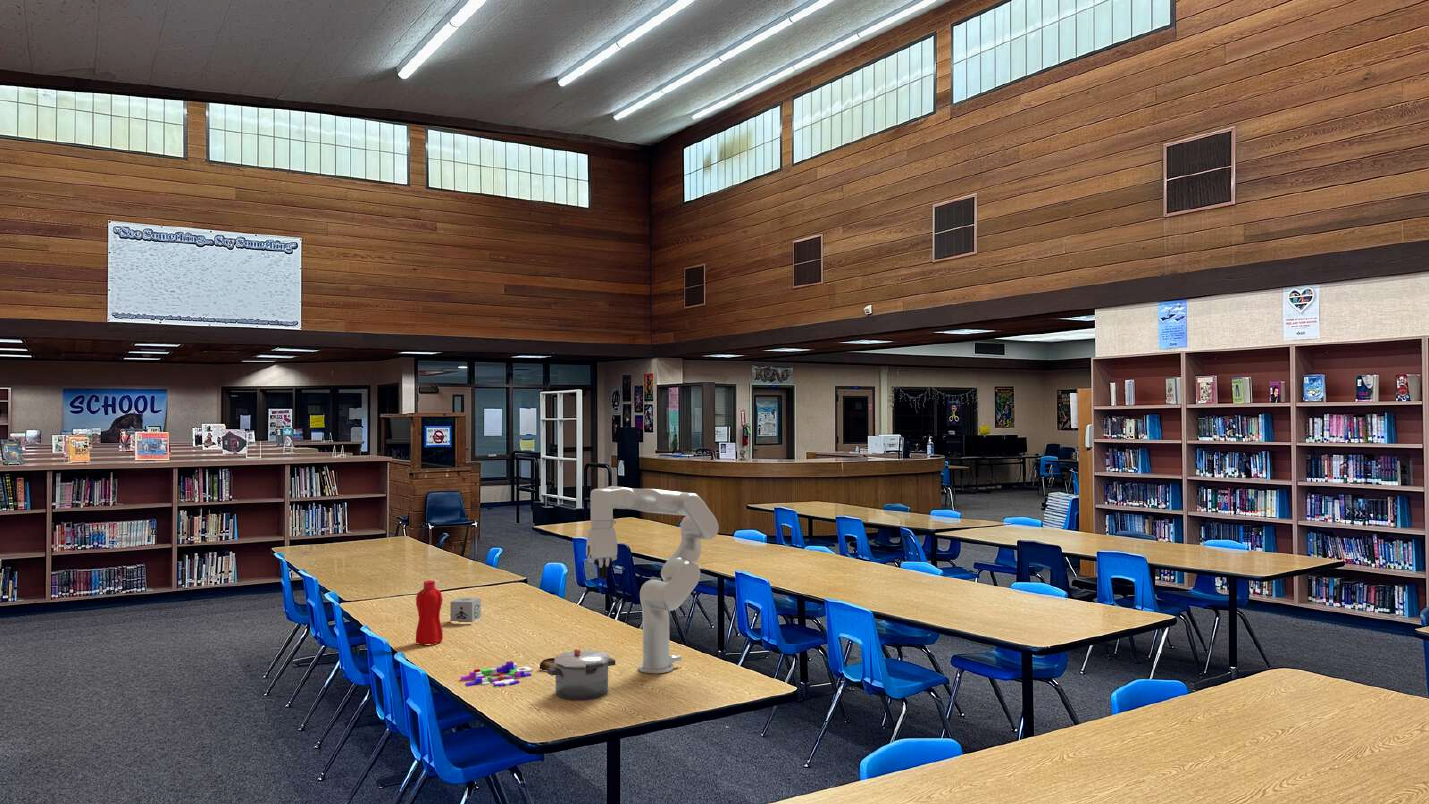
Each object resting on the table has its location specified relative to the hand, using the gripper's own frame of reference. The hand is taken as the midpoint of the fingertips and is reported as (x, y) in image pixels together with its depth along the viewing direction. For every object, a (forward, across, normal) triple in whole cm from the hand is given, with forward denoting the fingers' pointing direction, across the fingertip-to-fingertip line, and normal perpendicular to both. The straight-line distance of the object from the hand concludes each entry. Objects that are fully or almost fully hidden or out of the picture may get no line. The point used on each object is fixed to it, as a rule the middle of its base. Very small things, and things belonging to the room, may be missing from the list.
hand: (602, 578), depth 309 cm
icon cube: (+35, +9, -119) cm, 125 cm away
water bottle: (+35, +34, -89) cm, 101 cm away
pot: (+35, +12, +9) cm, 38 cm away
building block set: (+35, +28, -24) cm, 51 cm away
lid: (+24, +12, +10) cm, 29 cm away
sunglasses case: (+36, +3, -25) cm, 43 cm away
